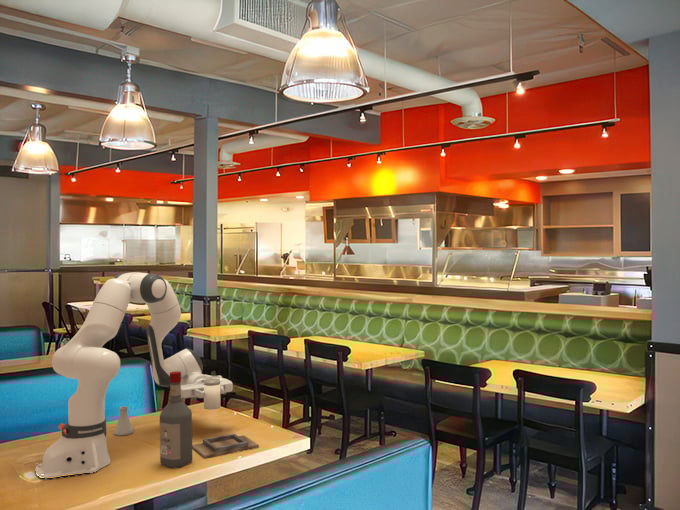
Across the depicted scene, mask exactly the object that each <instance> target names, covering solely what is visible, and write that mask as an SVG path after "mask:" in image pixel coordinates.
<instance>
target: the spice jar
mask: <svg viewBox="0 0 680 510" xmlns="http://www.w3.org/2000/svg"><path fill="white" fill-rule="evenodd" d="M204 391H205V396H204V398H203V409H205V410H211V411H212V410H218V409H220V408H221V394H220V379H207V380H204Z"/></svg>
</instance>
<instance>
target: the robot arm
mask: <svg viewBox="0 0 680 510" xmlns="http://www.w3.org/2000/svg"><path fill="white" fill-rule="evenodd" d="M130 303H135V304H147V308H148V311H149V314H150V320H149V324H148V326H147V327H146V338H147V345H148V349H149V356H150V360H151V361H150V362H151V370H152V371H151V372H152V378H153V380H154V381H155V383H156V385H157V386H159V387H162V388H163V387H165V388H170V372H175V371H179V372H181V398H182V399H190V398H191V399H192V398H198V399H204V396H205V391H204V380H207V379H220V395H224V394H225V393H231V392H232V391H233V390H234V389H233V387H234V386H233V382H232V380H229V379H227V378H224V377H223V376H222V375H216V374H215V375H213V374H212V375H209V374H206V373H205V374H203V367H204V365H203V362H202V359H201V357H200V356H199V354H198V353H197V352H196V351H195V350H192V349H190V348H184V349H182V350H180V351H179V352H176V353H175V354H173V355H171V356H170V357H167V358H165V359H164V355H163V348H162V343H163V340H164V339H165V337H166V336H167V335H168V334H169V333H170V331H172V330H173V329H174V328H175V327H176V326H177V324H178V323H179V322H180V320H181V317H182V311H181V309H182V308H181V306H180V303H179V300H178V296H177V295H176V293H175V290H174V289H173V287H172V285H171V284H170V282H169V281H168V280H167V279H165V278H163V277H162V276H161V275H159V274H157V273H152V272H151V273H148V272H147V273H146V272H139V271H134V272H132V271H131V272H126V271H125V272H121V273H118V274H116V275H115V276H114V277H113V278H109V279H107V280H106V281H104V284H103V285H102V286H101V288H100V289H99V291H98V293H97V294H96V296H95V298H94V300H93V302H92V305H91V307H90V309H89V311H88V313H87V315H86V318H85V320H84V322H83V324H82V325H81V327H80V328H79V330H78V331H77V332H76V333H75V335H74V336H73V337H71V339H70V340H69V341H68V342H67V343H66V344H65V345H63V346H61V347H59V348H57V350H55V352H54V353H53V355H52V358H51V366H52V369H53V371H54V372H55V373H56V374H58V375H60V376H62V377H64V378H67V379H73V380H78V383H77V384H78V385H77V388H76V391H75V393H73V394H72V395H70V397H69V399H68V402H67V407H68V408H67V412H68V417H67V420H68V422H67V423H66V424H65V423H60V424H59V425H58V429H59V430H60V431H61V437H59V438H58V439H57V440H56V441H54V442H53V443H52V444H51V445H49V446H48V447H47V448H46V450H45V451H44V454H43V457H42V462H41V463H38V464H37V465H36V466H35V469H34V472H35V471H36V473H37V474H38V475H39V476H41V477H44V478H47V477H55V476H62V475H68V474H79V473H90V474H94V473H93V472H95V473H96V471H97V472H98V471H99V470H100V469H103V468H105V467H106V466H108V465H109V464H110V463H111V461H112V460H111V457H110V454H109V449H108V446H107V445H108V443H107V433H108V432H107V431H108V430H107V429H108V427H107V426H108V423H107V419H106V418H105V416H106V415H105V414H106V411H105V410H106V395H107V390H108V387H109V385H110V384H111V381H112V380H113V379H115V378H116V377H117V375H118V374H119V372H120V369H121V358H120V356H119V355H118V354H117V353H116V352H115V351H112V350H110V349H107V348H105V347H103V346H104V345H105V344H107V342H109V341H111V340H112V339H113V338H115V337H116V336H117V334H118V332H119V330H120V327H121V324H122V322H123V320H124V317H125V315H126V312H127V310H128V307H129V304H130ZM41 474H44V475H41Z"/></svg>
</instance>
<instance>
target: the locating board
mask: <svg viewBox="0 0 680 510" xmlns="http://www.w3.org/2000/svg"><path fill="white" fill-rule="evenodd" d="M258 447H259V444H258V443H257V442H255V441H254V440H252V439H250V438H249V437H247V436H246V435H238V434H237V433H231V434H224V435H219V436H213V437H207V438H203V439H202V443H201V442H200V443H197V444H192V451H195V452H196V453H197V455H200V457H202V458H203V459H205V460H206V459H210V458H214V457H221V456H224V455H225V456H226V455H229V453H230V454H234V453H233V452H235V453H238V452H237V451H240V452H244V451H243V450H245V451H248V449H249V450H253V448H254V449H258Z"/></svg>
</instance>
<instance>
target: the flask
mask: <svg viewBox="0 0 680 510" xmlns="http://www.w3.org/2000/svg"><path fill="white" fill-rule="evenodd" d="M128 408H129V406H120V407H119V408H118V410H119V416H118V421H117V424H116V427H115V430H114V433H113V435H115V436H119V437H121V436H128V435H131V434H133V433H134V432H135V431H134V427H133V425H132V422H131V420H130V418H129V413H128Z"/></svg>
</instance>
